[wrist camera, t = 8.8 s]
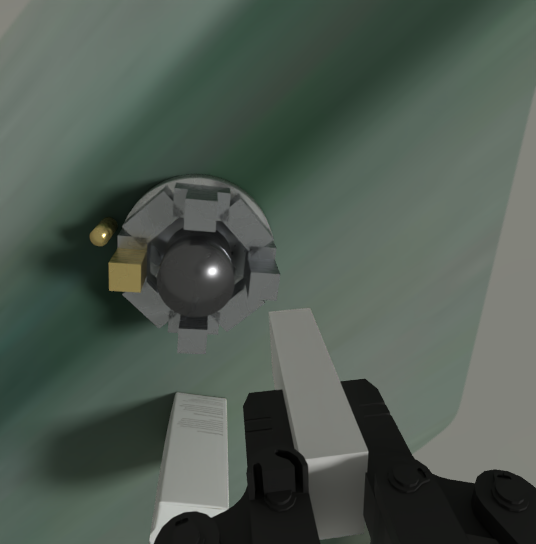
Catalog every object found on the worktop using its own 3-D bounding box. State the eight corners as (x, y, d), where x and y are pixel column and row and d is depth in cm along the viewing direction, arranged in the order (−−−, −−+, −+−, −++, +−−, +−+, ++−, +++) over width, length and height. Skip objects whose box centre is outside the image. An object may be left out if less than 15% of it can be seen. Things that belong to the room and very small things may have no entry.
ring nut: (123, 317, 42) (110, 350, 37) (123, 177, 37) (107, 191, 32) (261, 324, 44) (268, 356, 39) (279, 192, 39) (289, 208, 34)
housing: (197, 140, 39) (192, 151, 31) (300, 247, 45) (320, 282, 36) (91, 247, 42) (61, 284, 34) (201, 337, 47) (198, 387, 39)
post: (107, 214, 41) (97, 225, 37) (121, 225, 41) (112, 237, 38) (97, 225, 41) (85, 237, 38) (110, 236, 42) (100, 249, 38)
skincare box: (213, 448, 54) (214, 575, 40) (161, 442, 52) (142, 572, 38) (227, 395, 51) (233, 511, 37) (172, 388, 50) (156, 506, 35)
